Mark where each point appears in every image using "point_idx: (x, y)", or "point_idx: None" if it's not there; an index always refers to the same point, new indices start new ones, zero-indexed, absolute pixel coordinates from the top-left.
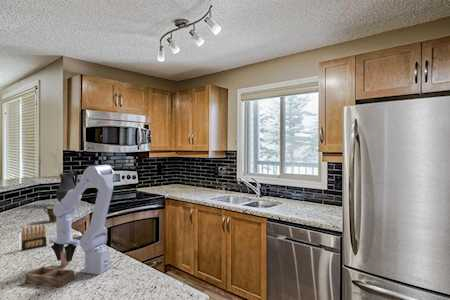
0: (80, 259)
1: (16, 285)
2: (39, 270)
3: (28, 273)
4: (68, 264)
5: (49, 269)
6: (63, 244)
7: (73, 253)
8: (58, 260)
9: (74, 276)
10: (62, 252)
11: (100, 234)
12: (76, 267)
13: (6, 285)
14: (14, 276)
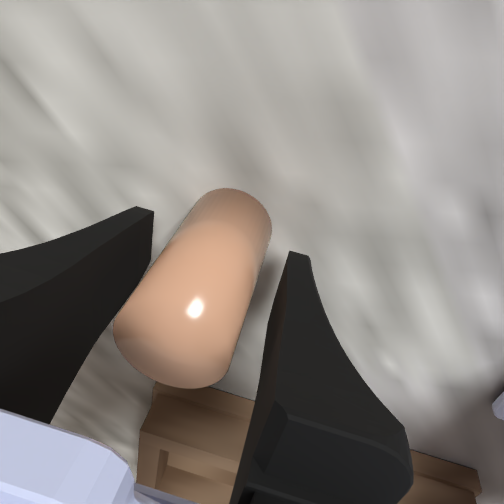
0: (352, 28)
1: (135, 466)
2: (161, 453)
3: None
4: (269, 223)
5: (234, 466)
6: (4, 325)
7: (325, 316)
8: (146, 267)
9: (475, 491)
10: (172, 382)
11: None
12: (406, 297)
13: None
14: None
